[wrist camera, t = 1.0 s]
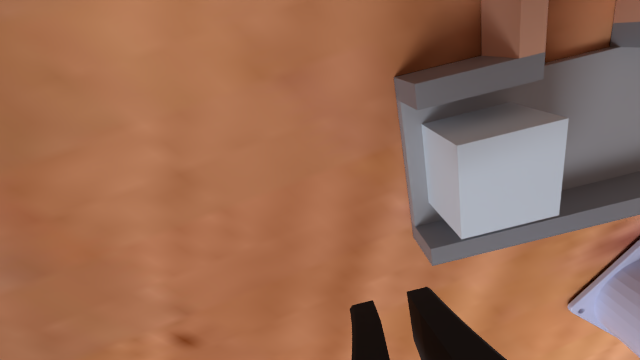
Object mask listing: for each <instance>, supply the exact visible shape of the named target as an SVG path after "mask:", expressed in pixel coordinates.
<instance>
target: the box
mask: <svg viewBox="0 0 640 360" xmlns="http://www.w3.org/2000/svg"><path fill="white" fill-rule="evenodd" d="M548 3H549V0H481V45H482V56H478V57H474V58H470V59H466V60H462V61H458V62H454V63H450V64H446V65H441V66H437V67H433V68H429V69H425V70H421V71H417V72H413V73H409V74H405V75H401V76H397V77H394V82H395V91H396V99H397V107H398V115H399V123H400V131H401V139H402V148H403V156H404V164H405V172H406V180H407V188H408V196H409V205H410V213H411V221H412V229H413V237H414V239H415V240H416V242H417V243H418V245H419V246H420V248H421V249H422V251H423V252H424V254H425V255H426V257H427V258H428V260H429V261H430V263H431V264H432V266H434V265H438V264H442V263H446V262H450V261H454V260H458V259H462V258H466V257H470V256H474V255H478V254H482V253H486V252H490V251H495V250H499V249H503V248H507V247H511V246H515V245H519V244H523V243H527V242H531V241H535V240H539V239H543V238H547V237H551V236H555V235H559V234H563V233H567V232H571V231H575V230H579V229H583V228H587V227H591V226H596V225H600V224H604V223H608V222H612V221H616V220H620V219H624V218H628V217H632V216H636V215H640V0H616V6H615V14H614V21H613V28H612V35H611V42H610V47H608V48H604V49H600V50H596V51H592V52H588V53H583V54H579V55H575V56H571V57H567V58H563V59H559V60H555V61H551V62H547V63H545V50H546V34H547V18H548ZM509 102H511V103H515V104H518V105H522V106H526V107H529V108H533V109H537V110H540V111H544V112H548V113H551V114H555V115H559V116H562V117H566V118H569V121H568V130H567V140H566V150H565V160H564V170H563V180H562V190H561V200H560V210H559V215H558V216H554V217H550V218H546V219H542V220H538V221H534V222H529V223H525V224H521V225H517V226H513V227H509V228H505V229H501V230H497V231H493V232H489V233H485V234H481V235H477V236H473V237H469V238H465V239H461V238H460V237H459V236H458V235H457V234H456V233H455V231H454V230H453V229H452V228H451V227H450V226H449V225H448V224H447V222H446V221H445V220H444V219H443V218H442V217H441V216H440V215H439V213H438V212H437V211H436V210H435V209H434V208H433V207H432V206H431V204H430V203H429V200H428V189H427V179H426V168H425V157H424V147H423V136H422V125H421V124H424V123H428V122H432V121H436V120H440V119H444V118H448V117H452V116H456V115H460V114H464V113H468V112H472V111H476V110H480V109H484V108H488V107H493V106H497V105H501V104H505V103H509Z"/></svg>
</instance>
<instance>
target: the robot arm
mask: <svg viewBox="0 0 640 360" xmlns="http://www.w3.org/2000/svg"><path fill="white" fill-rule="evenodd" d="M407 297H408V303H409V310H410V317H411V324H412V331H413V338H414V342H415V344H416V347H417V350H418V352H419V355H420V358H421V360H507V359H505V358H504V357H503V356H502V355H501V354H499V353H498V352H497V351H496V350H495V349H493V348H492V347H491V346H490V345H489V344H488V343H487V342H485V341H484V340H483V339H482V338H481V337H480V336H479V335H477V334H476V333H475V332H474V331H473V330H472V329H471V328H470V327H469V326H467V325H466V324H465V323H464V322H463V321H462V320H461V319H460V318H459V317H458V316H457V315H456V314H455V313H454V312H453V311H452V310H451V309H450V308H449V307H448V306H447V305H446V304H445V303H444V302H443V301H442V300H441V299H440V298H439V297H438V296H437V295H436V294H435V293H434V292H433V291H432V290H431V289H430V288H428V287H425V288H421V289H417V290H412V291H408V292H407ZM568 309H569V310H570V311H571V312H572V313H574V314H575V315H577V316H579V317H581V318H583V319H584V320H586V321H588V322H590V323H592V324H594V325H595V326H597V327H599V328H601V329H603V330H604V331H606V332H608V333H610V334H612V335H614V336H615V337H617V338H618V339H619V340H620V341H622V342H623V343H624V344H625V345H626V346H627V347H628V348H629V349H631V350H632V351H633V352H634V353H635V354H636V355H637V356H638V357H640V239H639V240H638V241H637V242H636V243H635V244H634V245H633V246H632V247H631V248H629V249H628V250H627V251H626V252H625V253H624V254H623V255H622V256H621V257H620V258H618V259H617V260H616V261H615V262H614V263H613V264H612V265H611V266H610V267H609V268H607V269H606V270H605V271H604V272H603V273H602V274H601V275H600V276H599V277H598V278H597V279H595V280H594V281H593V282H592V283H591V284H590V285H589V286H588V287H587V288H586V289H584V290H583V291H582V292H581V293H580V294H579V295H578V296H577V297H576V298H575V299H573V300H572V301H571V302H570V303H569V304H568ZM350 313H351V320H352V360H390V359H389V354H388V350H387V346H386V341H385V337H384V333H383V328H382V324H381V320H380V318H379V315H378V312H377V310H376V307H375V305H374V302H373V300H372V301H368V302H364V303H360V304H356V305H353V306H352V307H351V308H350Z"/></svg>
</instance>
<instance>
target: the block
mask: <svg viewBox="0 0 640 360" xmlns="http://www.w3.org/2000/svg"><path fill="white" fill-rule="evenodd" d="M568 121H569V118H566V117H562V116H559V115H555V114H551V113H548V112H544V111H540V110H537V109H533V108H529V107H526V106H522V105H518V104H515V103H511V102H509V103H505V104H501V105H497V106H493V107H488V108H484V109H480V110H476V111H472V112H468V113H464V114H460V115H456V116H452V117H448V118H444V119H440V120H436V121H432V122H428V123H424V124H421V125H422V136H423V147H424V157H425V168H426V179H427V189H428V200H429V203H430V204H431V206H432V207H433V208H434V209H435V210H436V211H437V212H438V213H439V215H440V216H441V217H442V218H443V219H444V220H445V221H446V222H447V224H448V225H449V226H450V227H451V228H452V229H453V230H454V231H455V233H456V234H457V235H458V236H459V237H460V238H461V239H465V238H469V237H473V236H477V235H481V234H485V233H489V232H493V231H497V230H501V229H505V228H509V227H513V226H517V225H521V224H525V223H529V222H534V221H538V220H542V219H546V218H550V217H554V216H558V215H559V210H560V200H561V190H562V180H563V170H564V160H565V150H566V140H567V130H568Z"/></svg>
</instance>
